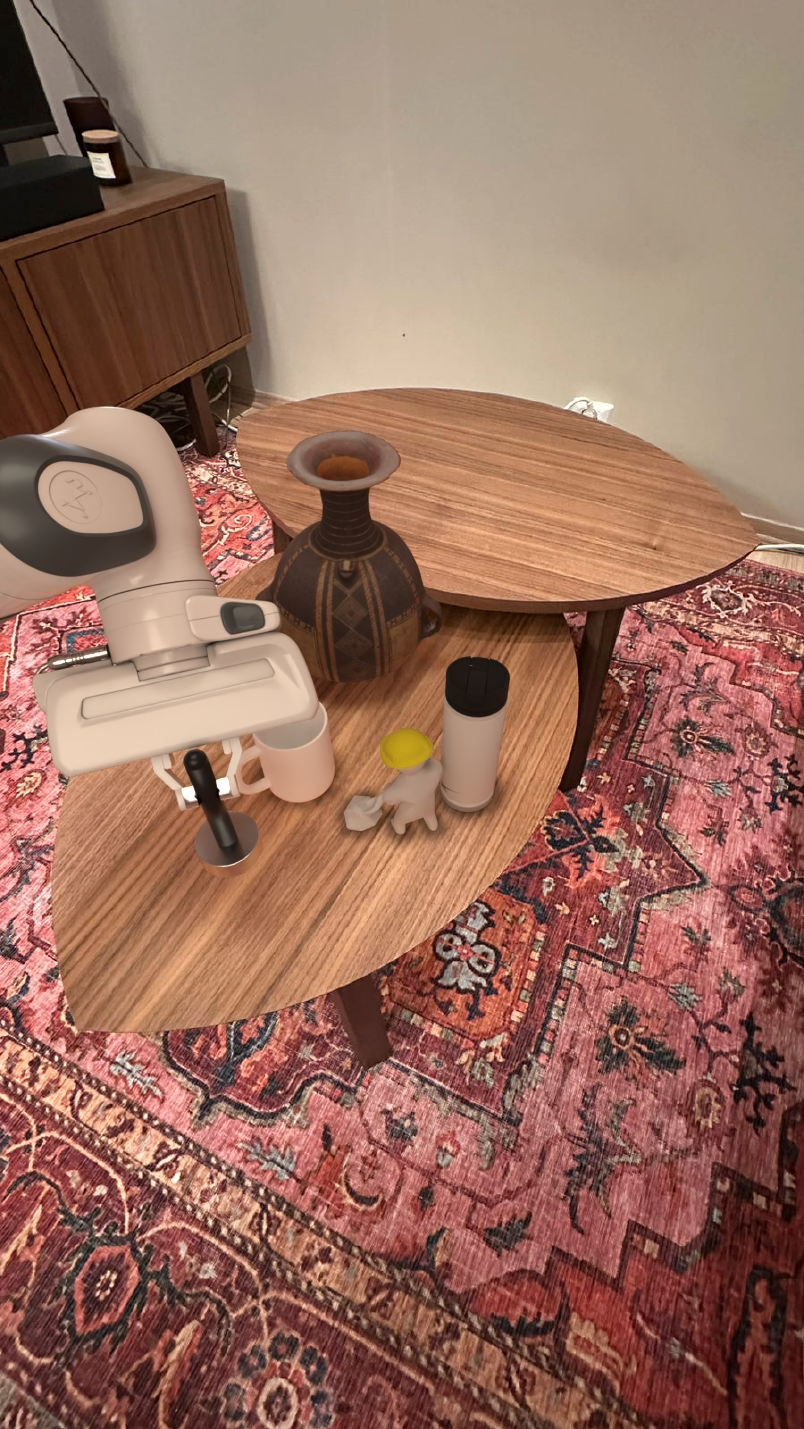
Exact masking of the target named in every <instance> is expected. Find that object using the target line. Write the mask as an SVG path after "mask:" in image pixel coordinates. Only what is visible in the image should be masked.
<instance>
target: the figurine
mask: <svg viewBox="0 0 804 1429" xmlns="http://www.w3.org/2000/svg"><path fill="white" fill-rule="evenodd" d="M434 747H435V746H434V743H433V741H432V740H431V739H430V737H428V736H427V735H426V734H423V733H422V732H421V731H420V730H418V729H416V728H412V727H404V728H400V729H397V730H395V731H394V732H391V733H389V734H387V735H385V736H384V737H383V738H382V739H381V741H380V745H379V751H380V757H381V761H382V763H383V764H384V765H385V766H387V767H388V768H390V769H394V770H397V771H399V774H398V775H397V776H396V777H395V778H394V779H393V780H392V781H391V782H388V783H387V784H385V786H384V788H383V789H382V791H381V793H380V794H379V795H376V796H373V797H371V796H369V795H367V796H366V795H353V796H352V798H351V800H350V801H349V803H348V805H347V806H346V808H345V809H344V811H343V817H344V821H345V827H346V828H347V830H349V831H358V832H363V831H366V830H368V829H371V828H373V827H375V826H376V825H377V823H378V822H379V820H380V819H381V818H382V816H383V814H384V812H383V810H382V806H383V805H384V804H387V805H388V806H395V805H397V804H399V805H398V807H397V809H396V811H395V813H394V816H393V817H392V818H391V819H390V823H391V825H392V827H393V830H394V831H395V833H396V834H398V835H404V834H405V832H406V828H407V827H406V825H407V824H408V823H412V822H415V821H417V820H421V819H423V821H424V822H425V824H426V826H427V827H428V829H429V830H430V831H431V832H436V831H437V829H438V826H439V823H438V822H439V821H438V819H437V815H436V794H435V792H436V789H437V787H438V786H439V785H440V780H441V777H442V774H443V767H442V765H441V761H439V760H437V759H436V758H431V757H432V754H433V752H434Z"/></svg>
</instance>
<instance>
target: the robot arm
mask: <svg viewBox="0 0 804 1429" xmlns="http://www.w3.org/2000/svg"><path fill="white" fill-rule="evenodd" d="M77 587H88V588H90V589H91V590H92V591H93V593H94V596H95V601H96V602H95V603H96V606H97V610H98V613H99V616H100V617H99V618H100V621H101V626H102V628H103V632H104V636H105V640H106V642H107V643H106V644H101V645H97V646H92V647H89V648H88V647H87V648H84V649H80V650H78V651H76V652H70V653H69V652H68V653H58V654H55V655H52V656H49V657H47V659H46V662H44V663H43V664H41V665H40V666H38V668H36V670H35V672H34V674H33V675H32V680H31V682H32V690H33V692H34V696H35V700H36V703H37V705H38V707H39V709H40V710H41V711H42V712H43V713H44V714H45V721H46V730H47V739H48V745H49V750H50V755H51V760H52V764H53V766H54V768H55V770H57V771H58V772H59V773H61V774H62V775H64V776H65V777H67V778H74V777H80V776H83V775H88V774H91V773H96V772H100V771H104V770H108V769H111V768H115V767H116V768H117V767H120V766H124V765H128V764H132V763H137V762H141V761H145V760H148V759H149V760H150V762H151V766H152V769H153V773H154V774H155V775H156V776H157V777H158V778H159V779H160V780H161V781H162V782H163V783H164V784H165V785H166V786H167V787H169V788H170V789H171V790H172V791H174V794H175V798H176V801H177V806H178V809H179V811H180V812H184V811H187V810H190V809H191V810H192V809H195V808H198V807H200V806H201V804H200V802H199V800H198V797H197V795H196V792H195V790H194V788H193V786H192V783H191V782H190V783H187V784H186V783H185V782H184V781H183V780H182V779H181V778H180V777H179V776H178V775H177V774H176V773H175V772H174V771H173V770H172V768H173V767H174V766H175V765H176V760H175V757H174V753H178V752H182V751H186V750H192V749H196V748H199V747H203V746H208V745H210V744H215V743H220V742H221V747H222V750H223V753H224V755H226V756H227V755H231V758H230V760H229V764H228V767H227V771H226V774H223V775H220V776H216V782H217V788H218V789H219V790H220V792H219V795H220V799H221V801H222V800H224V801H226V800H230V799H234V798H237V797H240V795H241V792H240V791H239V787H238V783H237V779H236V771H237V768H238V764H239V761H240V758H241V754H242V752H243V751H244V746H243V743H242V738H241V737H244V736H249V735H252V734H253V733H257V732H261V731H265V730H269V729H273V728H278V727H282V726H286V725H290V724H294V723H298V722H302V721H306V720H311V719H313V718H314V717H315V715H316V713H317V711H318V709H319V702H320V700H319V698H318V694H317V690H316V686H315V683H314V680H313V677H312V675H311V674H310V672H309V670H308V667H307V665H306V662H305V660H304V658H303V655H302V653H301V651H300V649H299V647H298V646H297V644H296V643H295V642H294V641H293V640H292V639H291V638H290V637H289V636H287V635H285V634H283V633H280V632H278V631H279V630H280V629H281V627H282V617H281V613H280V610H279V608H278V607H277V606H276V605H275V604H273V603H271V602H267V601H258V600H255V599H245V598H236V597H226V596H220V595H219V594H218V590H217V585H216V582H215V578H214V576H213V574H212V572H211V570H210V569H209V568H208V565H207V564H206V561H205V559H204V555H203V549H202V526H201V522H200V517H199V514H198V509H197V506H196V502H195V499H194V495H193V492H192V488H191V485H190V483H189V479H188V476H187V473H186V470H185V468H184V465H183V462H182V459H181V458H180V455H179V453H178V450H177V448H176V446H175V444H174V442H173V441H172V438H171V437H170V436H169V434H168V432H167V431H166V429H165V427H163V426H162V425H161V424H160V422H158V421H157V420H156V419H155V418H153V417H151V416H150V415H147V414H145V413H143V412H140V411H136V410H134V409H130V408H126V407H119V406H108V405H107V406H93V407H87V408H83V409H80V410H77V411H75V412H74V413H72V414H70V415H69V416H68V417H67V418H66V419H65V420H64V421H63V422H62V423H61V424H59V425H57V426H56V427H54V428H52V429H50V430H49V431H46V432H43V433H39V434H31V433H29V434H26V433H25V434H16V435H12V436H9V437H6V438H3V439H1V440H0V626H1V625H4V624H6V623H7V622H9V621H10V620H12V619H13V618H16V617H17V616H19V615H20V614H21V613H23V612H25V611H26V610H28V609H30V608H32V607H35V606H36V605H39V604H42V603H44V602H47V601H49V600H52V599H54V598H56V597H59V596H60V595H62V594H64V593H65V592H68V591H71V590H73V589H75V588H77ZM48 668H49V670H50V671H46V670H47V669H48ZM44 671H46V672H44Z"/></svg>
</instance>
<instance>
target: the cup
mask: <svg viewBox="0 0 804 1429" xmlns="http://www.w3.org/2000/svg"><path fill="white" fill-rule="evenodd" d="M251 735H252V738H253V742H254V745H253V746H250V747H248V748H247V749H245V750H243V751H242V754H241V758H240V761H239V764H238V768H237V771H236V779H237V783H238V787H239V791H240V794H243V795H249V796H250V795H256V794H259V793H262V792H263V791H266V790H267V789H269V791H271V793H272V794H273V795H275V796H276V797H277V798H279V799H280V800H283V801H286V802H289V803H307V802H310V801H313V800H315V799H317V798H319V797H320V796H322V795H323V794H324V793H326V791H328V789H329V788H330V786H331V785H332V783H333V781H334V779H335V774H336V773H335V772H336V763H335V758H334V757H335V756H334V750H333V744H332V738H331V731H330V724H329V717H328V713H327V710H326V708H325V706H324V705H323V703H321V701H319V709H318V711H317V713H316V715H315V717H314V718H313V719H311V720H306V721H302V722H298V723H294V724H290V725H286V726H282V727H278V728H273V729H269V730H265V731H261V732H257V733H253V734H251ZM257 758H258V759H259V763H260V766H261V769H262V773H263V776H264V777H262V778H261V779H259V780H257V781H255V782H253V783H251V784H246V783H245V781H244V779H243V776H242V775H243V774H242V772H243V767H244V765H246V764H247V763H248V762H250V761H253V760H255V759H257Z"/></svg>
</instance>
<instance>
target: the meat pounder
mask: <svg viewBox="0 0 804 1429" xmlns="http://www.w3.org/2000/svg"><path fill="white" fill-rule="evenodd" d="M182 763H183V767H184V770H185V772H186V774H187V776H188V779H189V781H190V784H191V783H192V786H193V788H194V790H195V792H196V795H197V797H198V800H199V802H200V806H201V809H202V812H203V814H204V816H205V818H206V820H205V821H204V822H203V823H202V824H201V825H200V826H199V828H198V830H197V831H196V834H195V837H194V841H193V843H194V844H193V845H194V847H193V848H194V851H195V853H196V856H197V858H198V860H199V862H200V864H201V866H202V868H203V869H204V870H205V871H206V872H207V873H208V874H210V875H212V876H215V877H218V878H227V879H228V878H235V877H238V876H241V875H243V874H245V873H246V872H249V871H250V870H251V869H252V868H253V867H254V866H255V865H256V864H257V862H258V861H259V859H260V857H261V855H262V852H263V848H264V843H263V838H262V835H261V831H260V828H259V826H258V823H257V822H256V821H255V820H254V818H253V817H252V816H250V815H249V814H248V813H245V812H243V811H236V810H229V809H228V807H227V803H226V802H225V800H222V801H221V799H220V795H219V792H220V790H219V789H218V788H217V782H216V779H217V777H216V776H215V773H214V770H213V768H212V765H211V762H210V759H209V757H208V755H207V753H206V752H205V751H204V750H202V749H199V748H191V749H189V750H188V751H187V752H186V753H185V754H184V756H183V758H182Z"/></svg>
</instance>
